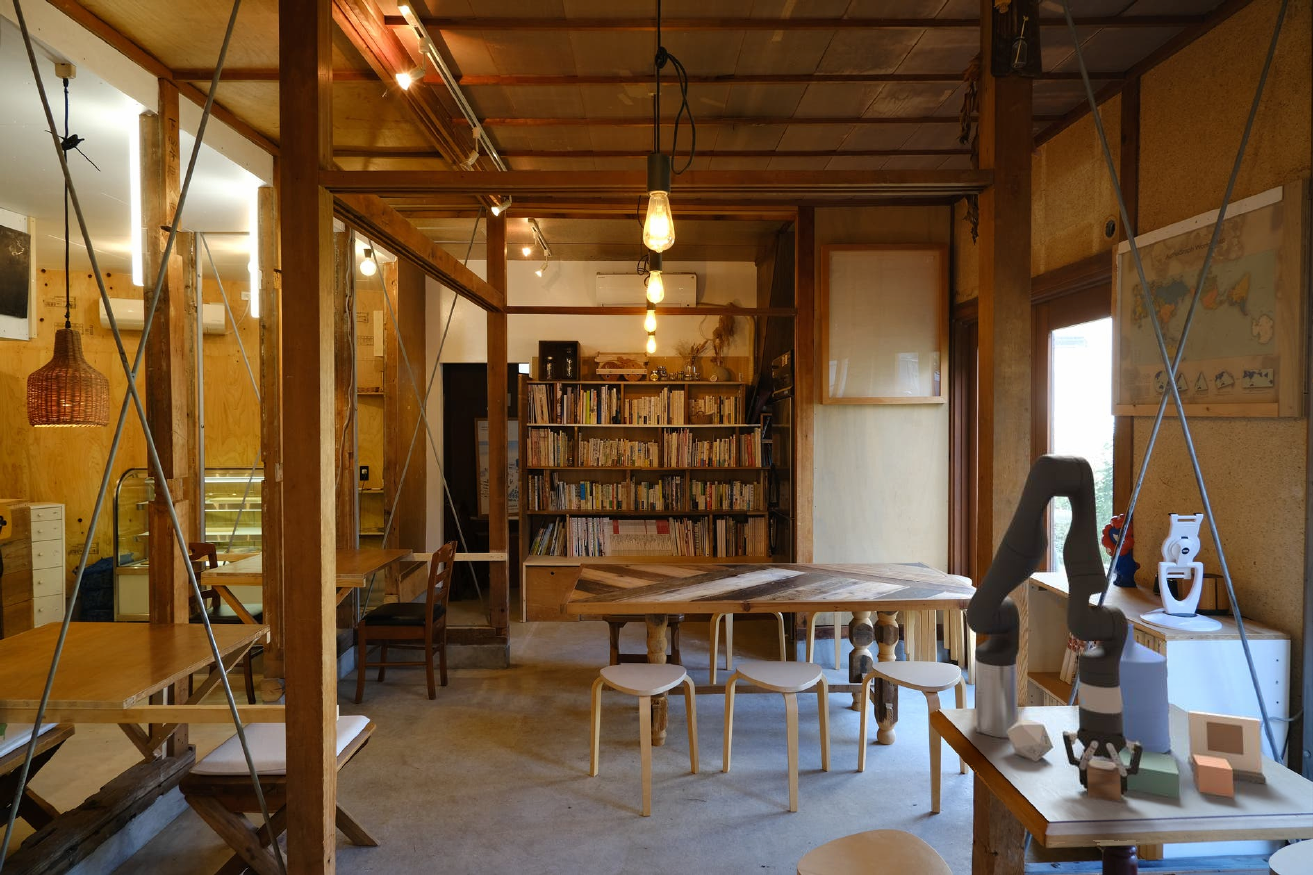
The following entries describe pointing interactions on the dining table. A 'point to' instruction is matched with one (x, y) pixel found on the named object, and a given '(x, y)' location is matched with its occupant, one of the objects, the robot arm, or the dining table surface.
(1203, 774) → the terracotta block
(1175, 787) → the base block
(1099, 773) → the walnut block
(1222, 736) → the placard
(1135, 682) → the water jug
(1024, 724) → the die
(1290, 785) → the dining table surface
